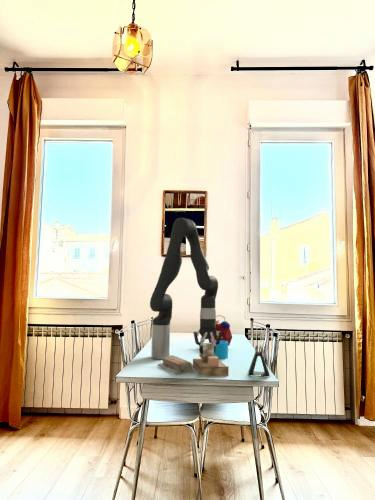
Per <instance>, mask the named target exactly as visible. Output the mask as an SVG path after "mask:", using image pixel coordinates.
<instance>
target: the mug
mask: <svg viewBox="0 0 375 500" xmlns="http://www.w3.org/2000/svg"><path fill="white" fill-rule="evenodd" d="M215 342H216V341H215ZM214 356H217V357H218V358H219V360H226V359H228V358H229V346H228V341H222V340H220V344H219V345H216V352H215V353H214Z"/></svg>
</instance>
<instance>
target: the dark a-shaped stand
mask: <svg viewBox="0 0 375 500" xmlns="http://www.w3.org/2000/svg"><path fill="white" fill-rule="evenodd" d="M254 349H255V351H254V355H253V356H252V357H253V358H252V361H251V363H250V367H249V369H248V376H249V375H261V376H260V377H264V376H269V377H270V376H271V375H270V371H269V368H268V367H267V363H266V361H265V358H264V355H263V351H264V350H263V347H262V346H261V345H259V346H258V345H256V346H255V348H254ZM258 349H260V351H258ZM258 357H260V360H261V365H262V367H263V371H255V368H256V364H257V361H258ZM269 377H268V378H269Z"/></svg>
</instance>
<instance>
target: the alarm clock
mask: <svg viewBox="0 0 375 500" xmlns="http://www.w3.org/2000/svg"><path fill="white" fill-rule="evenodd" d="M217 317H222V318H223V321H222V322H221V323H220V322H219V321H220V320H219V319H218V320H216V331H220V332H222V336H221V340H222V341H228V347H229V346H230V345H231V341H232V340H233V335H232V332H231V326H230V325H231V324H230V323H229V322H228V321H227V320H225V319H226V317H225V316H223V315H220V314H219V315H216V318H217ZM214 339H215V341H216V340H217V333H216V334H215V335H214ZM207 340H208V343H212V342H211V339H207Z"/></svg>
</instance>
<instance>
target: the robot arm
mask: <svg viewBox="0 0 375 500" xmlns="http://www.w3.org/2000/svg"><path fill="white" fill-rule="evenodd" d="M184 238H186V240H187V242H188V244H189V246H190V251H189V253H190V255H189V257H190V260H191V263H192V265H193V268H194V270H195V275H196V281H197V285H198V286H199V288H200V289H201V290H203V291H204V294H203V295H202V296H201V297H200V310H199V312H200V313H199V329H198V331H196V330H195V331H193V333H192V334H193V337H194V343H195V344H196V345H197V346H198V349H199V353H201V354H203V343H205V341H206V340H208V339H211V342H212V344H213V345H214V353H215V352H216V345H219V344H220V340H221V336H222V332H220V331H216V321H217V317H216V316H217V312H216V298H217V294H218V290H219V281H218V279H217V277H215V276H214V275H209V270H210V266H209V262H208V261H207V258H206V256H205V253H204V251H203V248H202V244H201V241H200V237H199V233H198V229H197V225H196V223H195V222H194V221H193V220H192V219H189V218H185V217H178V218H176V219H175V220H174V222H173V225H172V228H171V233H170V238H169V243H168V247H167V250H166V253H165V257H164V260H163V263H162V266H161V270H160V274H159V277H158V278H157V279H158V280H157V283H156V285H155V287H154V290H153V291H152V294H151V297H150V300H149V308H150V309H151V311H152V312H156V313H158V314H157V315H156V316H155V317H154V318H152V331H151V333H152V338H151V354H150V355H151V359H154V360H163V358H165V357H168V356H170V347H171V346H170V344H171V343H170V342H171V341H170V340H171V339H170V337H171V335H170V334H171V320H172V316H173V298H172V296H171V295H170V294H169V293H166V292H167V290H168V288H169V286H170V285H172V283H173V281H175V280H176V279H177V277H178V275H179V273H180V270H181V267H182V263H183V258H182V250H181V249H182V248H181V247H182V243H183V240H184ZM216 333H217V340H216V342H215V339H214V335H215V334H216ZM199 335H200V336H201V337H200V340H199Z"/></svg>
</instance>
